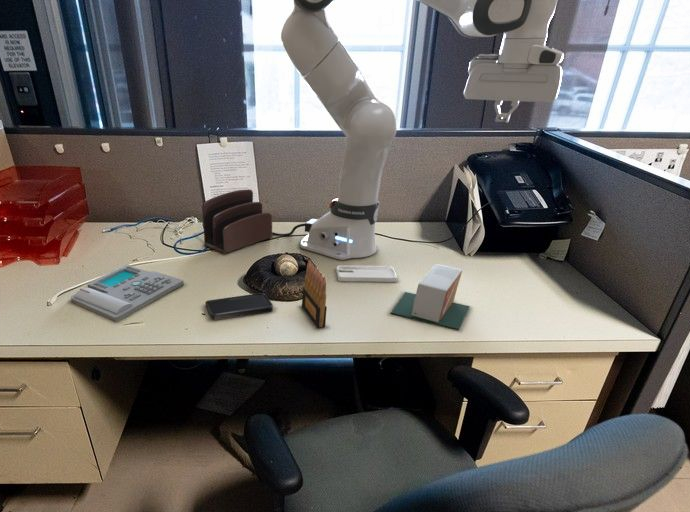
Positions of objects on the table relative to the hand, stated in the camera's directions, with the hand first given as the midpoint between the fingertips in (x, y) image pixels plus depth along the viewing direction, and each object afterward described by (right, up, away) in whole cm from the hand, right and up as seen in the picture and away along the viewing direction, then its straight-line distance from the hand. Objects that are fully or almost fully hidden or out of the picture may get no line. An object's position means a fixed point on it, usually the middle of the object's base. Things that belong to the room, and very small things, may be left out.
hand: (501, 121), depth 116 cm
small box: (-16, -40, -4) cm, 43 cm away
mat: (-20, -47, -6) cm, 52 cm away
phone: (-65, -47, -4) cm, 80 cm away
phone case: (-31, -36, +10) cm, 49 cm away
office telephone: (-94, -41, +4) cm, 103 cm away
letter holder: (-65, -21, +31) cm, 75 cm away
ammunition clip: (-48, -49, -7) cm, 69 cm away
